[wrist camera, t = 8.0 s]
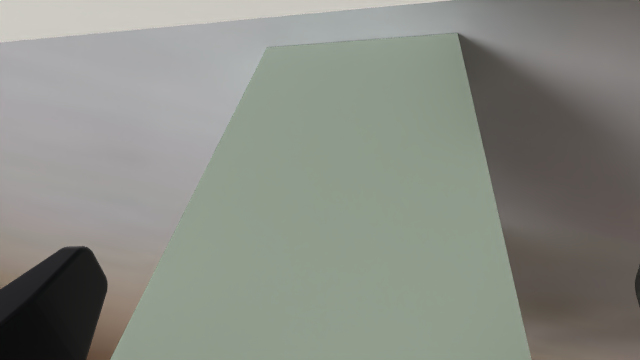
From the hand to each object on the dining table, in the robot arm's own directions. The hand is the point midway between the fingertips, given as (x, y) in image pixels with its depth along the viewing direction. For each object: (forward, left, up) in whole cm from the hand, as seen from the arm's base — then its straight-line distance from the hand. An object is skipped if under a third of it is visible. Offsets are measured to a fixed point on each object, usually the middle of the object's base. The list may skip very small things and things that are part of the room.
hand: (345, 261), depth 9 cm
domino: (0, 0, -7) cm, 7 cm away
